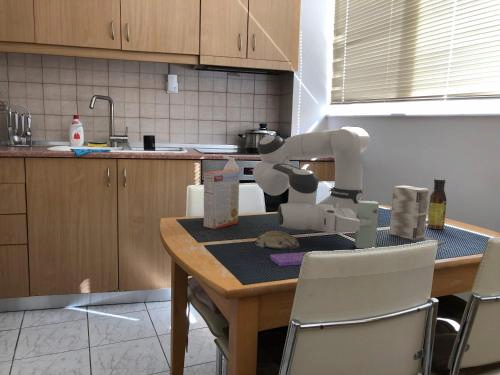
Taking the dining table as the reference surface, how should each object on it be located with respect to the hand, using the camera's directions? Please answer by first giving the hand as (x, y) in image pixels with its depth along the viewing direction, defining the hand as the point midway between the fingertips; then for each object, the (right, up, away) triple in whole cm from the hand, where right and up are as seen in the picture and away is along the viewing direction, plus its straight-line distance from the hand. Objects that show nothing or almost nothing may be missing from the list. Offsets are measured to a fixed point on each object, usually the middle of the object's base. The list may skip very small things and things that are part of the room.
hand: (369, 220), depth 140 cm
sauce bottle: (+36, -6, +32) cm, 48 cm away
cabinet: (+20, -8, +14) cm, 26 cm away
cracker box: (-50, -4, +24) cm, 56 cm away
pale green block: (-1, -9, +1) cm, 9 cm away
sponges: (-26, -11, -16) cm, 33 cm away
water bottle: (-48, -2, +40) cm, 62 cm away
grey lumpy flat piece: (-30, -8, +2) cm, 32 cm away
